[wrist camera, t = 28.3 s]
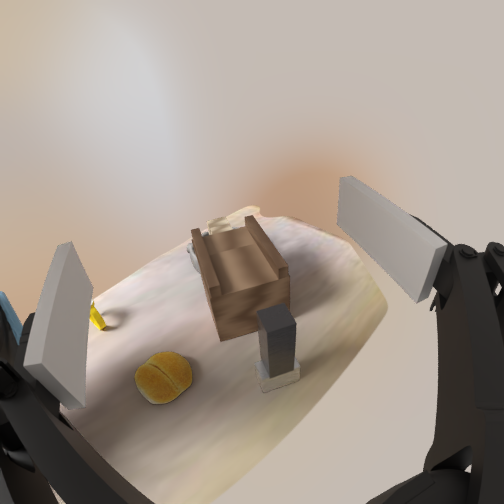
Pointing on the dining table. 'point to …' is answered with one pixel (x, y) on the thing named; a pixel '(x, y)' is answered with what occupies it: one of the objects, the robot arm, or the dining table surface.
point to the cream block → (221, 228)
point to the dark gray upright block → (276, 348)
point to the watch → (96, 317)
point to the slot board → (240, 276)
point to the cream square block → (216, 223)
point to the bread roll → (163, 377)
